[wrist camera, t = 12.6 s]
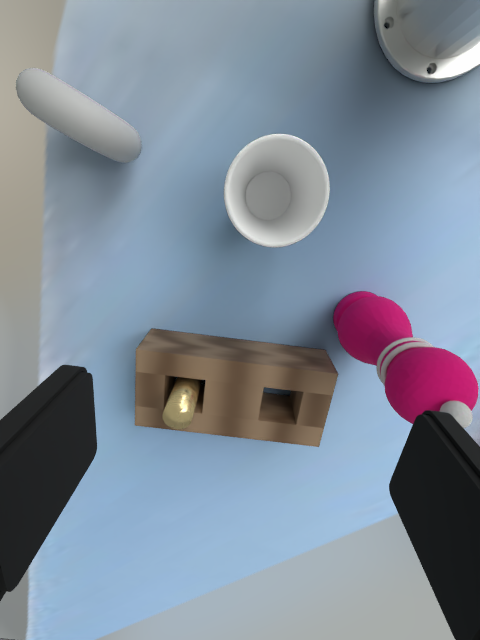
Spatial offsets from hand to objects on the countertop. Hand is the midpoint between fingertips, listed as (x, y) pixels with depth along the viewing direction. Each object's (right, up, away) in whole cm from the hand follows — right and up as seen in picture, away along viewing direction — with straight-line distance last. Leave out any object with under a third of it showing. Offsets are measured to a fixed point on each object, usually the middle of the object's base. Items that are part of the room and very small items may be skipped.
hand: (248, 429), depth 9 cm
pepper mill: (+14, +4, +30) cm, 33 cm away
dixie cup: (+3, +16, +25) cm, 30 cm away
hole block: (-1, -4, +32) cm, 33 cm away
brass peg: (-6, -3, +32) cm, 33 cm away
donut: (-14, +22, +23) cm, 35 cm away
